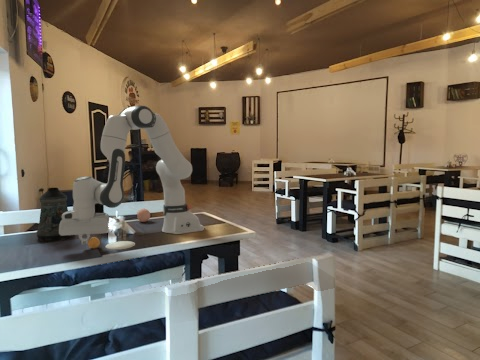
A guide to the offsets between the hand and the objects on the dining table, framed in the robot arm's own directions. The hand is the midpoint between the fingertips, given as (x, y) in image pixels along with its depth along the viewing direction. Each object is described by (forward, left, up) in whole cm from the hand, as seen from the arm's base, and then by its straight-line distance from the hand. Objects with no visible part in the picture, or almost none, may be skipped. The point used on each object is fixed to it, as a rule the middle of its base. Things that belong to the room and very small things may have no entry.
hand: (84, 243), depth 156 cm
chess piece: (-3, -38, -3) cm, 38 cm away
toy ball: (-28, -48, -3) cm, 56 cm away
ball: (-4, 0, 0) cm, 4 cm away
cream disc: (-15, 0, -2) cm, 15 cm away
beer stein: (+17, -28, -3) cm, 33 cm away
